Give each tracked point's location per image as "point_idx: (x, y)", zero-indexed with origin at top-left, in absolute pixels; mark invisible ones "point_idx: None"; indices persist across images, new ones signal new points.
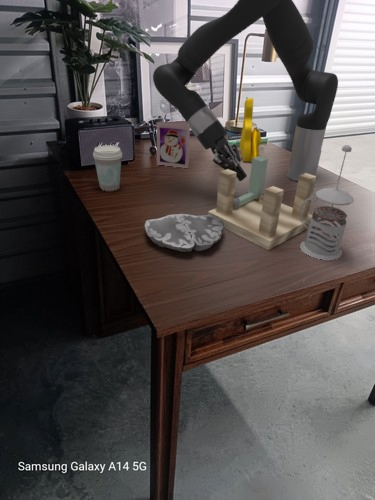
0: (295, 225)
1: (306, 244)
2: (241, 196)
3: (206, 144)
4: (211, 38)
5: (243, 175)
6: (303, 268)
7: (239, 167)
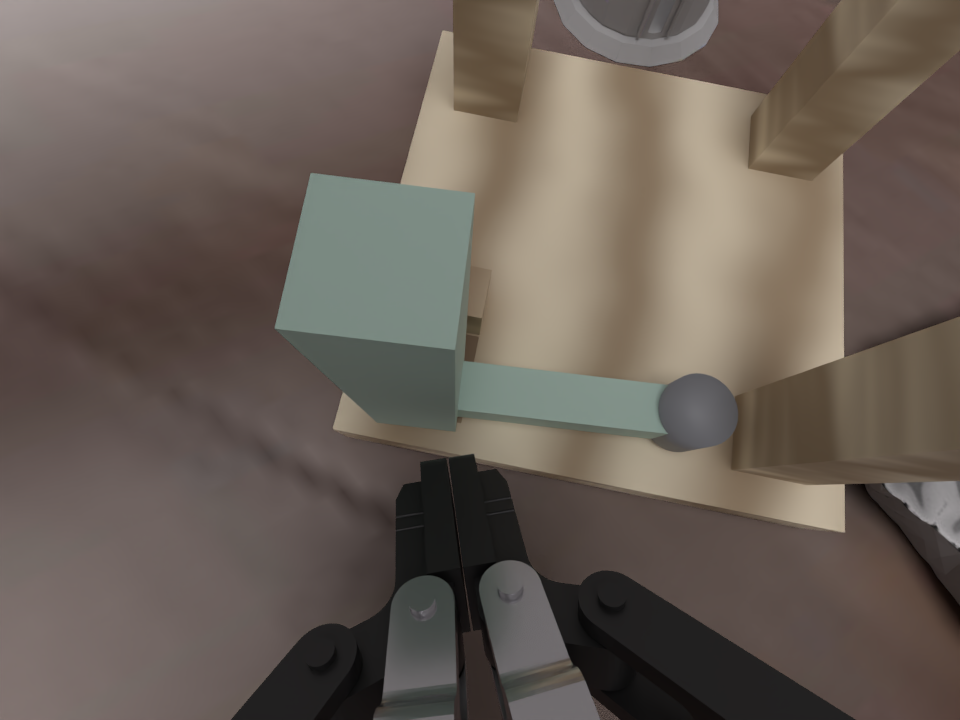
0: (610, 73)
1: (695, 16)
2: (580, 419)
3: None
4: None
5: (477, 473)
6: (811, 10)
7: (469, 549)
